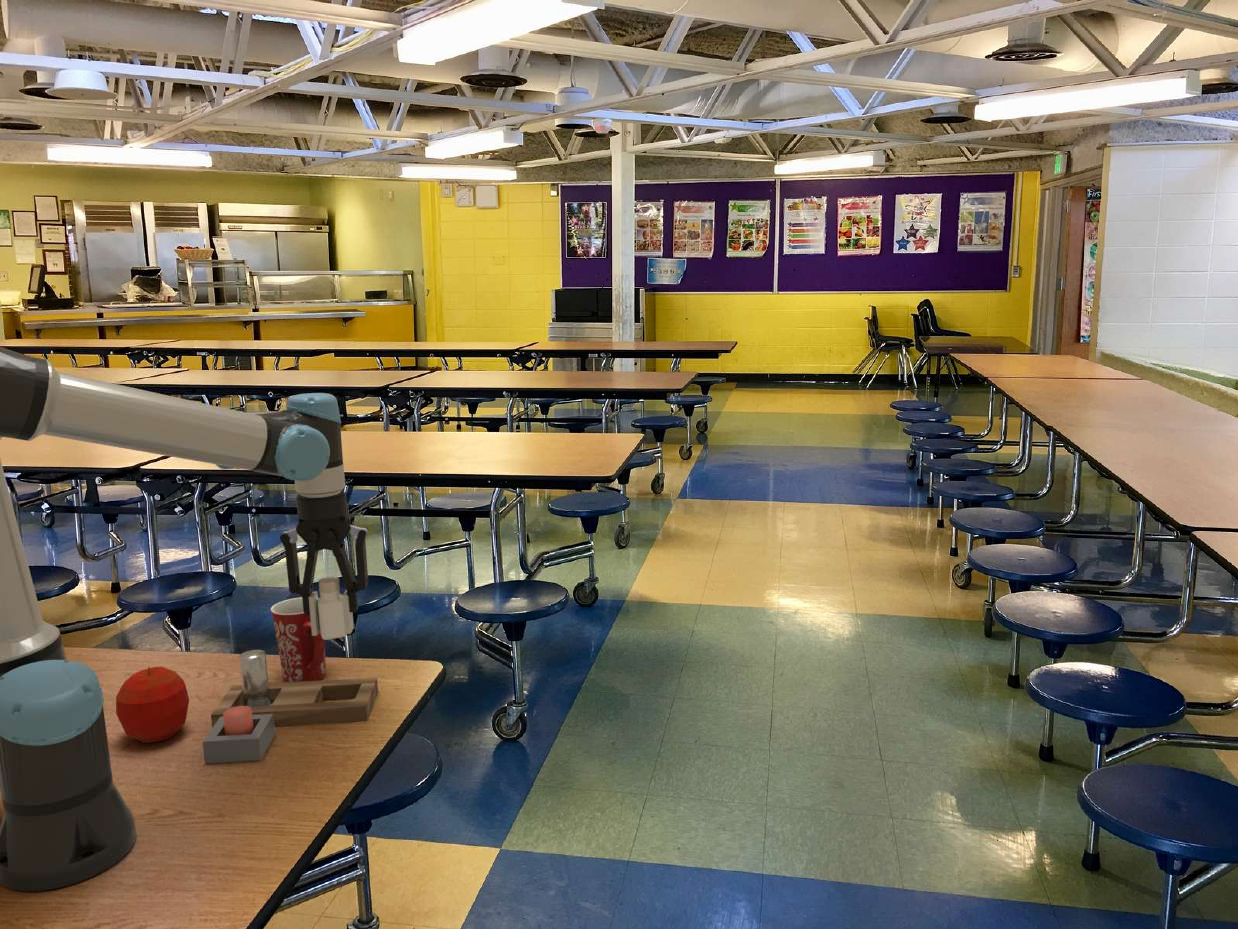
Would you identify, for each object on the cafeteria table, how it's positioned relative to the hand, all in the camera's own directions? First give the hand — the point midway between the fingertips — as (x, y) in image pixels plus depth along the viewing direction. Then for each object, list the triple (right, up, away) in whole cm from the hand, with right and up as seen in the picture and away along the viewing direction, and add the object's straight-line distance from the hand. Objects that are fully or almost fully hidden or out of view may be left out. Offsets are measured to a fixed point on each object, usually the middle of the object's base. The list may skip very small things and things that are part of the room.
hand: (333, 631), depth 154 cm
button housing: (-11, -16, -11) cm, 22 cm away
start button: (-11, -15, -11) cm, 21 cm away
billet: (-13, -14, +2) cm, 19 cm away
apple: (-26, -15, -6) cm, 31 cm away
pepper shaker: (0, -1, 0) cm, 1 cm away
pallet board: (-6, -13, +2) cm, 15 cm away
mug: (-8, -11, +13) cm, 19 cm away
